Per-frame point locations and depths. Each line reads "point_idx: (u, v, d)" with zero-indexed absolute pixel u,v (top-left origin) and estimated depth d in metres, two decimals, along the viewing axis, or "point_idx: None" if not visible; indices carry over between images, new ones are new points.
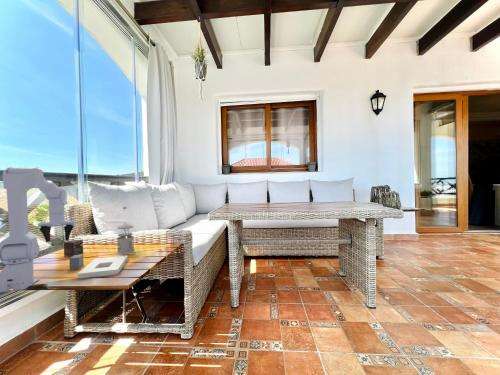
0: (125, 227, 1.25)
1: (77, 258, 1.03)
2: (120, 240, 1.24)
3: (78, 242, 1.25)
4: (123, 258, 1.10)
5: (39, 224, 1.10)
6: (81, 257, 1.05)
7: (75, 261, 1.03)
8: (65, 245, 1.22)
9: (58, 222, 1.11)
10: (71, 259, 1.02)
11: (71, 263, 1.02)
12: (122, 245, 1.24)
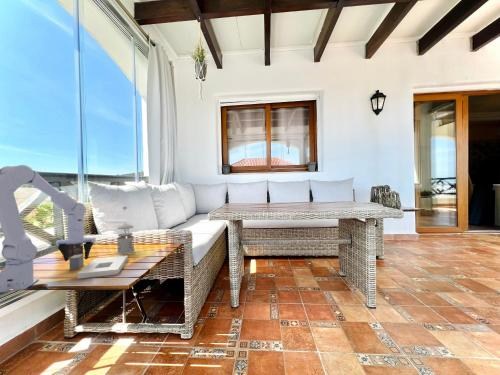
0: (125, 227, 1.25)
1: (77, 258, 1.03)
2: (120, 240, 1.24)
3: None
4: (123, 258, 1.10)
5: (57, 242, 1.02)
6: (81, 257, 1.05)
7: (75, 261, 1.03)
8: None
9: (77, 240, 1.03)
10: (71, 259, 1.02)
11: (71, 263, 1.02)
12: (122, 245, 1.24)
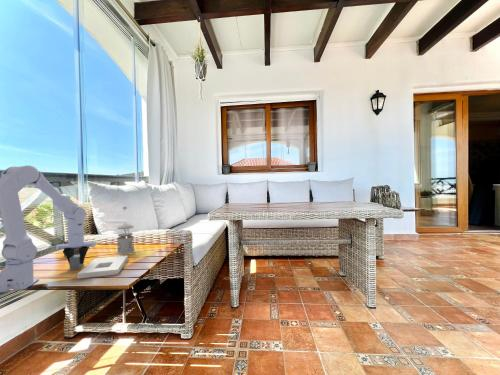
0: (125, 227, 1.25)
1: (77, 258, 1.03)
2: (120, 240, 1.24)
3: None
4: (123, 258, 1.10)
5: (57, 246, 1.02)
6: None
7: (75, 261, 1.03)
8: None
9: (78, 244, 1.03)
10: (71, 259, 1.02)
11: (71, 263, 1.02)
12: (122, 245, 1.24)
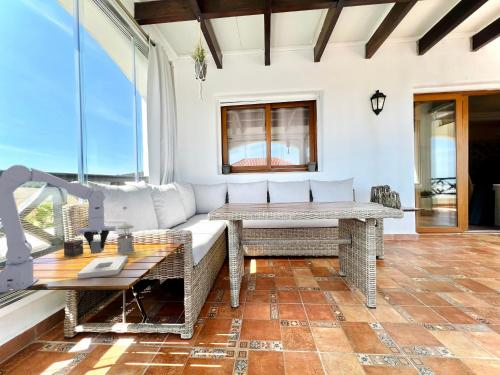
0: (125, 227, 1.25)
1: (98, 242, 1.00)
2: (120, 240, 1.24)
3: (78, 242, 1.25)
4: (123, 258, 1.10)
5: (78, 230, 0.99)
6: None
7: (96, 245, 1.00)
8: (65, 245, 1.22)
9: (99, 228, 1.00)
10: (92, 243, 0.99)
11: (92, 248, 0.99)
12: (122, 245, 1.24)
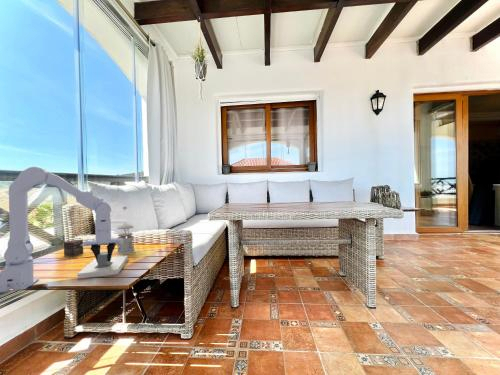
0: (125, 227, 1.25)
1: (105, 255, 0.99)
2: None
3: (78, 242, 1.25)
4: (123, 258, 1.10)
5: (85, 243, 0.98)
6: None
7: (103, 258, 0.99)
8: (65, 245, 1.22)
9: (105, 240, 0.99)
10: (99, 256, 0.98)
11: (99, 261, 0.98)
12: (122, 245, 1.24)
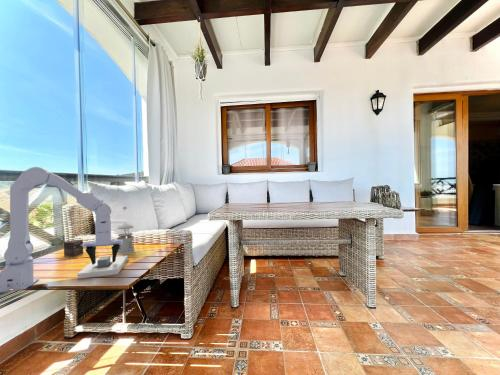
0: (125, 227, 1.25)
1: (105, 260, 0.99)
2: None
3: (78, 242, 1.25)
4: (123, 258, 1.10)
5: (85, 244, 0.98)
6: (108, 259, 1.01)
7: (103, 263, 0.99)
8: (65, 245, 1.22)
9: (105, 242, 0.99)
10: (99, 261, 0.98)
11: (99, 266, 0.98)
12: (122, 245, 1.24)
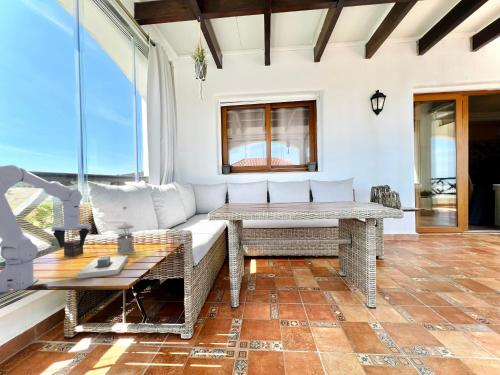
0: (125, 227, 1.25)
1: (105, 260, 0.99)
2: (120, 240, 1.24)
3: (78, 242, 1.25)
4: (123, 258, 1.10)
5: (53, 228, 1.02)
6: (108, 259, 1.01)
7: (103, 263, 0.99)
8: (65, 245, 1.22)
9: (73, 226, 1.03)
10: (99, 261, 0.98)
11: (99, 266, 0.98)
12: (122, 245, 1.24)
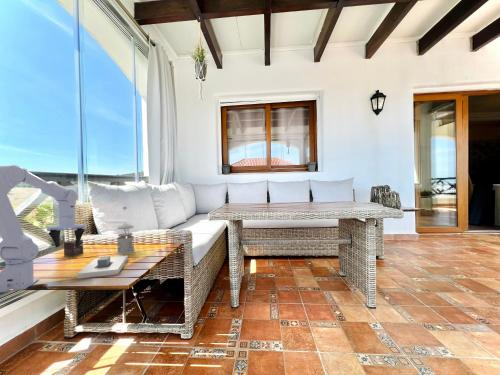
0: (125, 227, 1.25)
1: (105, 260, 0.99)
2: (120, 240, 1.24)
3: None
4: (123, 258, 1.10)
5: (48, 228, 1.03)
6: (108, 259, 1.01)
7: (103, 263, 0.99)
8: (65, 245, 1.22)
9: (68, 226, 1.04)
10: (99, 261, 0.98)
11: (99, 266, 0.98)
12: (122, 245, 1.24)
